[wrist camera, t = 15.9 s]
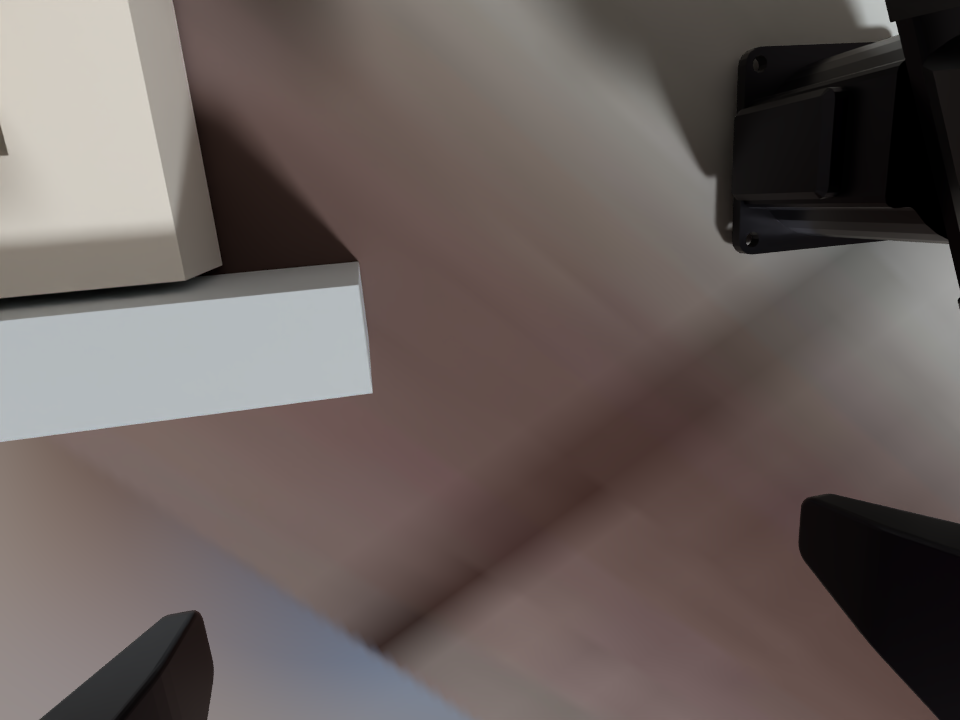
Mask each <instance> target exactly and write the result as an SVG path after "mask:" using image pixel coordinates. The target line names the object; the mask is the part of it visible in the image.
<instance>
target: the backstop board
mask: <svg viewBox="0 0 960 720" xmlns="http://www.w3.org/2000/svg"><path fill="white" fill-rule="evenodd" d="M369 393H372V379H371V365H370V351H369V338H368V330H367V322H366V315H365V307H364V299H363V291H362V284H361V276H360V268H359V261H358V262H348V263H337V264H326V265H316V266H305V267H295V268H284V269H273V270H263V271H252V272H241V273H231V274H220V275H210V276H199V277H193V278H191V279H188V280H186V281H176V282H165V283H155V284H144V285H134V286H123V287H113V288H102V289H92V290H81V291H71V292H60V293H50V294H39V295H29V296H18V297H8V298H0V442H3V441H10V440H18V439H25V438H33V437H41V436H49V435H56V434H64V433H72V432H79V431H87V430H94V429H102V428H110V427H117V426H125V425H132V424H140V423H148V422H155V421H163V420H171V419H178V418H186V417H193V416H201V415H209V414H216V413H224V412H232V411H239V410H247V409H254V408H262V407H270V406H277V405H285V404H292V403H300V402H308V401H315V400H323V399H331V398H338V397H346V396H353V395H361V394H369Z"/></svg>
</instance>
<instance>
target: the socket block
mask: <svg viewBox="0 0 960 720" xmlns="http://www.w3.org/2000/svg"><path fill="white" fill-rule="evenodd" d="M219 266H222V260H221V255H220V249H219V244H218V239H217V233H216V228H215V223H214V217H213V212H212V207H211V202H210V196H209V191H208V186H207V180H206V175H205V170H204V164H203V159H202V154H201V149H200V143H199V138H198V133H197V127H196V122H195V117H194V112H193V106H192V101H191V96H190V90H189V85H188V80H187V74H186V69H185V64H184V59H183V53H182V48H181V43H180V37H179V32H178V27H177V21H176V16H175V11H174V6H173V0H0V298H8V297H18V296H29V295H39V294H50V293H60V292H71V291H81V290H92V289H102V288H113V287H123V286H134V285H144V284H155V283H165V282H176V281H186V280H188V279H191V278H193V277H195V276H198V275H200V274H202V273H205V272H207V271H210V270H212V269H214V268H217V267H219Z"/></svg>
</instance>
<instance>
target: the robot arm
mask: <svg viewBox="0 0 960 720" xmlns="http://www.w3.org/2000/svg"><path fill="white" fill-rule="evenodd" d="M885 2H886V6H887V11H888V15H889V19H890V22H894V21H896V24H897V28H898V33H899V35H897V36H894V37H891V38H887V39H884V40H881V41H878V42H867V43H842V44H816V45H791V46H765V47H758V48H754V49H752V50H750V51H747V52H746V53H745V54H744V55H742V57H741V59H740V61H739V65H738V85H737V114H736V117H735V118H734V140H733V171H732V194H733V196H734V203H733V233H732V242H733V247H734V248H735V250H736V251H738V252H739V253H745V254H760V253H770V252H779V251H789V250H799V249H808V248H818V247H827V246H837V245H847V244H856V243H866V242H876V241H885V240H893V241H909V242H925V243H942V244H949V246H950V250H951V254H952V258H953V263H954V267H955V271H956V275H957V279H958V284H959V288H960V0H885ZM754 59H756V60H757V61H758V62H759V69H758V72H756V71H755V70H754V69H753V61H754ZM749 233H750V234H751V236H752V240H751V243H750V244H749V245H747V244H746V237H747V235H748V234H749ZM958 304H959V308H960V298H959V299H958ZM799 550H800V553H801V556H802V558H803V560H804V561H805V563H806V564H807V565H808V566H809V568H810V569H811V570H812V572H813V573H814V574H815V575H816V577H817V578H818V579H819V580H820V582H821V583H822V584H823V586H824V587H825V588H826V589H827V591H828V592H829V593H830V595H831V596H832V597H833V598H834V600H835V601H836V602H837V604H838V605H839V606H840V607H841V609H842V610H843V611H844V612H845V614H846V615H847V616H848V618H849V619H850V620H851V621H852V623H853V624H854V625H855V627H856V628H857V629H858V630H859V632H860V633H861V634H862V635H863V637H864V638H865V639H866V640H867V641H868V643H869V644H870V645H871V646H872V647H873V648H874V649H875V651H876V652H877V653H878V654H879V655H880V656H881V657H882V658H883V660H884V661H885V662H886V663H887V664H888V665H889V666H890V667H891V668H892V669H893V670H894V671H895V673H896V674H897V675H898V676H899V677H900V678H901V679H902V680H903V681H904V682H905V683H906V684H907V685H908V687H909V688H910V689H911V690H912V691H913V692H914V693H915V694H916V695H917V696H918V697H919V698H920V699H921V701H922V702H923V703H924V704H925V705H926V706H927V707H928V708H929V709H930V710H931V711H932V712H933V714H934V715H935V716H936V717H937V718H938V719H939V720H960V524H959V523H955V522H950V521H946V520H942V519H938V518H933V517H929V516H925V515H920V514H916V513H912V512H908V511H903V510H899V509H895V508H891V507H886V506H882V505H878V504H873V503H869V502H865V501H861V500H856V499H852V498H848V497H843V496H839V495H835V494H823V495H818V496H813V497H808V498H806V499H805V500H804V501H803V503H802V505H801V514H800V528H799ZM213 675H214V667H213V660H212V655H211V651H210V647H209V643H208V638H207V634H206V630H205V625H204V621H203V618H202V616H201V614H200V613H199V612H197V611H196V610H192V611H186V612H181V613H176V614H170V615H167V616H165V617H163V618H162V619H160V620H159V621H158V622H157V623H156V624H154V625H153V626H152V627H151V628H150V629H148V630H147V631H146V632H145V633H143V634H142V635H141V636H140V637H139V638H137V639H136V640H135V641H134V642H132V643H131V644H130V645H129V646H128V647H126V648H125V649H124V650H123V651H122V652H120V653H119V654H118V655H117V656H116V657H115V658H113V659H112V660H111V661H110V662H108V663H107V664H106V665H105V666H104V667H102V668H101V669H100V670H99V671H98V672H96V673H95V674H94V675H93V676H92V677H90V678H89V679H88V680H87V681H85V682H84V683H83V684H82V685H81V686H79V687H78V688H77V689H76V690H75V691H73V692H72V693H71V694H70V695H69V696H67V697H66V698H65V699H64V700H63V701H61V702H60V703H59V704H58V705H56V706H55V707H54V708H53V709H52V710H50V711H49V712H48V713H47V714H46V715H44V716H43V717H42V718H41V719H40V720H207V717H208V711H209V704H210V698H211V692H212V685H213Z"/></svg>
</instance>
